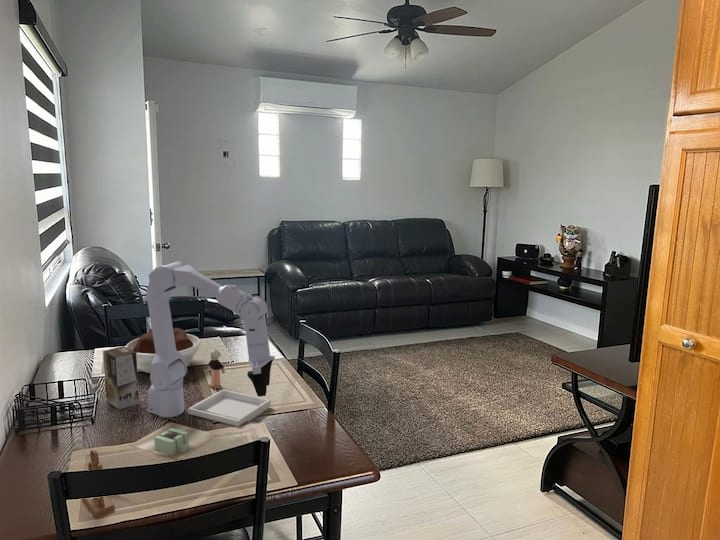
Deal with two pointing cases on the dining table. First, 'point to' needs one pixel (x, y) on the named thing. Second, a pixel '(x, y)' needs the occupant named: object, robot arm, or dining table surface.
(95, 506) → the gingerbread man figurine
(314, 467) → the dining table surface
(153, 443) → the board
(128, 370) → the coffee box
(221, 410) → the tray
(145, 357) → the bowl of brown treats
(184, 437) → the green block stack
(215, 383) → the grandmother figurine
